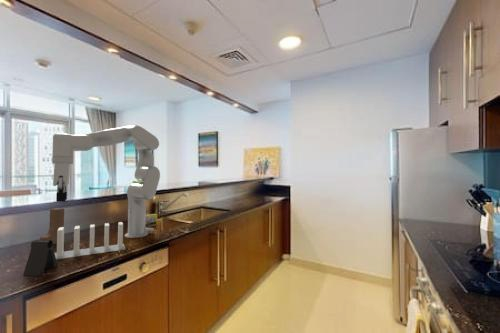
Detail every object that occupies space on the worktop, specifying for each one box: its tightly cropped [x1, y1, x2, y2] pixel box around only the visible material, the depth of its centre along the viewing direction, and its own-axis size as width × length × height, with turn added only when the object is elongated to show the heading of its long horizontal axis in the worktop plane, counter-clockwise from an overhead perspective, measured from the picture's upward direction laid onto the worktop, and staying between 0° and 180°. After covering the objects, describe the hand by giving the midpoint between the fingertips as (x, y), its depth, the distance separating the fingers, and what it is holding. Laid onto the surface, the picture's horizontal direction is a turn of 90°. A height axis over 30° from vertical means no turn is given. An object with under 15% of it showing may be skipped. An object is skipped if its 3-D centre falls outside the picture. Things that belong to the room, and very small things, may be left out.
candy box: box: [145, 213, 158, 228], centre depth 165 cm, size 16×2×8 cm, turn 137°
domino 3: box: [88, 224, 96, 253], centre depth 115 cm, size 2×6×12 cm, turn 32°
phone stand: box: [22, 239, 59, 277], centre depth 93 cm, size 9×6×12 cm, turn 1°
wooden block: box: [39, 207, 65, 245], centre depth 126 cm, size 9×4×18 cm, turn 167°
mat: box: [54, 243, 126, 260], centre depth 115 cm, size 30×10×1 cm, turn 122°
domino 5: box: [117, 221, 124, 249], centre depth 122 cm, size 2×6×12 cm, turn 32°
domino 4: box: [103, 222, 110, 251], centre depth 118 cm, size 2×6×12 cm, turn 32°
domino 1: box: [56, 226, 65, 258], centre depth 109 cm, size 2×6×12 cm, turn 32°
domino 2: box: [73, 225, 81, 255], centre depth 112 cm, size 2×6×12 cm, turn 32°
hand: (61, 200), depth 109 cm, fingers open, 4 cm apart
